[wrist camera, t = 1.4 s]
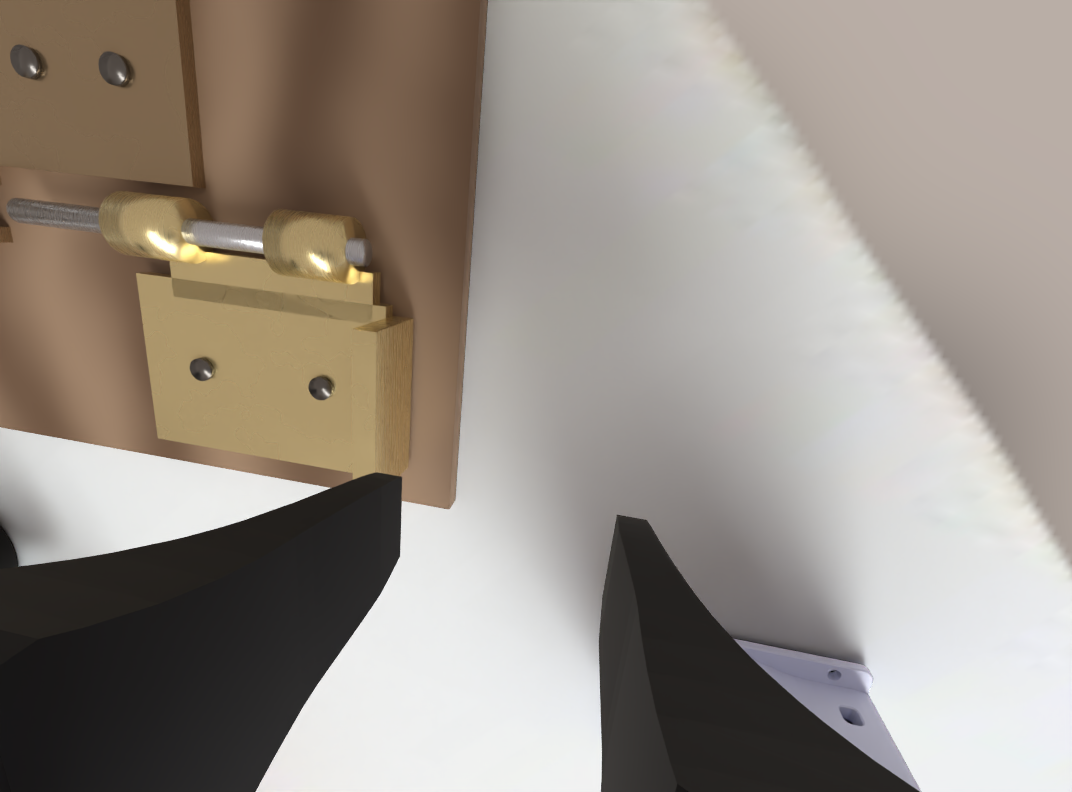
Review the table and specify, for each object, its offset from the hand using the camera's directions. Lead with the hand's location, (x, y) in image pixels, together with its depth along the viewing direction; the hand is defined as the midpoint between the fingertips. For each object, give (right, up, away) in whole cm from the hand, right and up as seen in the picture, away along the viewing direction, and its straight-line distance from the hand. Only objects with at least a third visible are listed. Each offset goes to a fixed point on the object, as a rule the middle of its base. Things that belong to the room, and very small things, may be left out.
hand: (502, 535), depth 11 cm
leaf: (-11, +5, +9) cm, 15 cm away
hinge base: (-17, +13, +8) cm, 23 cm away
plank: (-14, +10, +9) cm, 19 cm away
